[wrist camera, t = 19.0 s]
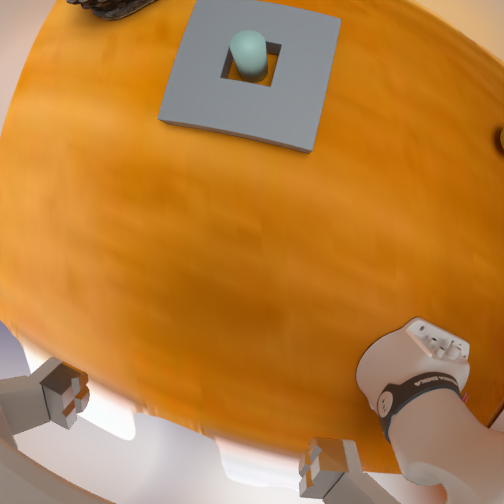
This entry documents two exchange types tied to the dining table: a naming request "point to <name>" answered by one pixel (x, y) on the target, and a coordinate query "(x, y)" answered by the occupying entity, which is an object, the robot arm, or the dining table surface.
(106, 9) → the decorative house
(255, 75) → the peg
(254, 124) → the cutout board
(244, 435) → the dining table surface
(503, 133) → the lemon
